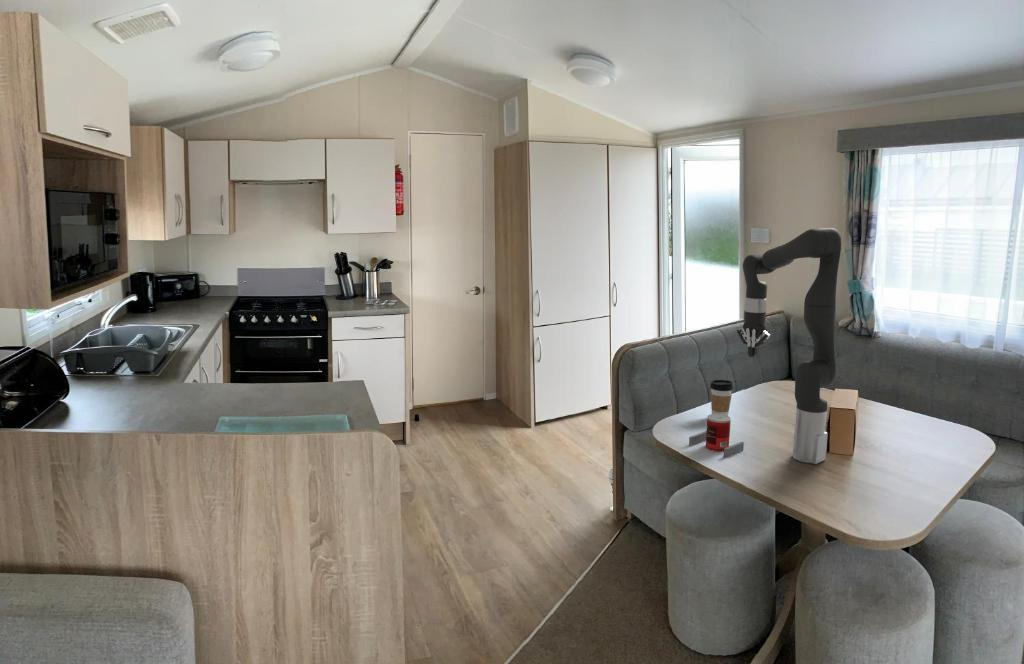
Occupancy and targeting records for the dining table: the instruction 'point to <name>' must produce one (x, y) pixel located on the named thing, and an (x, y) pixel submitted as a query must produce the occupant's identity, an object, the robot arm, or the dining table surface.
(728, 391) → the coffee cup
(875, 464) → the dining table surface
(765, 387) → the dining table surface
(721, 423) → the canned food
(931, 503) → the dining table surface
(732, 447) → the lane rails
